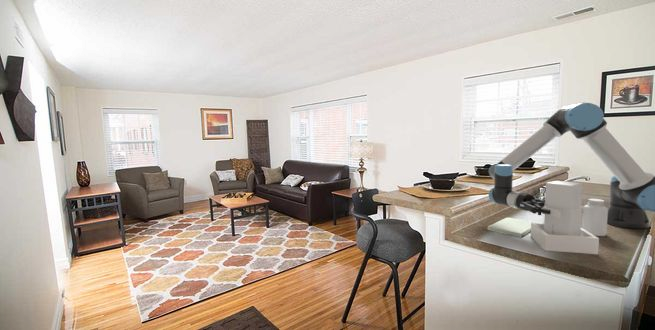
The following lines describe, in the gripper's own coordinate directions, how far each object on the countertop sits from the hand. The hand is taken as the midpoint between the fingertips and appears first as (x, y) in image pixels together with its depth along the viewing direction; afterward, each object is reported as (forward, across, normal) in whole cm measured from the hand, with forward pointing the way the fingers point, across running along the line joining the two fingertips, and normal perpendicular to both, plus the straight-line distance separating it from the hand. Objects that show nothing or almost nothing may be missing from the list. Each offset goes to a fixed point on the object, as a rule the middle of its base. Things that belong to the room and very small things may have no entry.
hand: (572, 212), depth 113 cm
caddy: (-4, 0, -14) cm, 14 cm away
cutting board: (-26, -1, -14) cm, 30 cm away
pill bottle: (-7, -24, -14) cm, 29 cm away
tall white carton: (-4, 0, -14) cm, 15 cm away
